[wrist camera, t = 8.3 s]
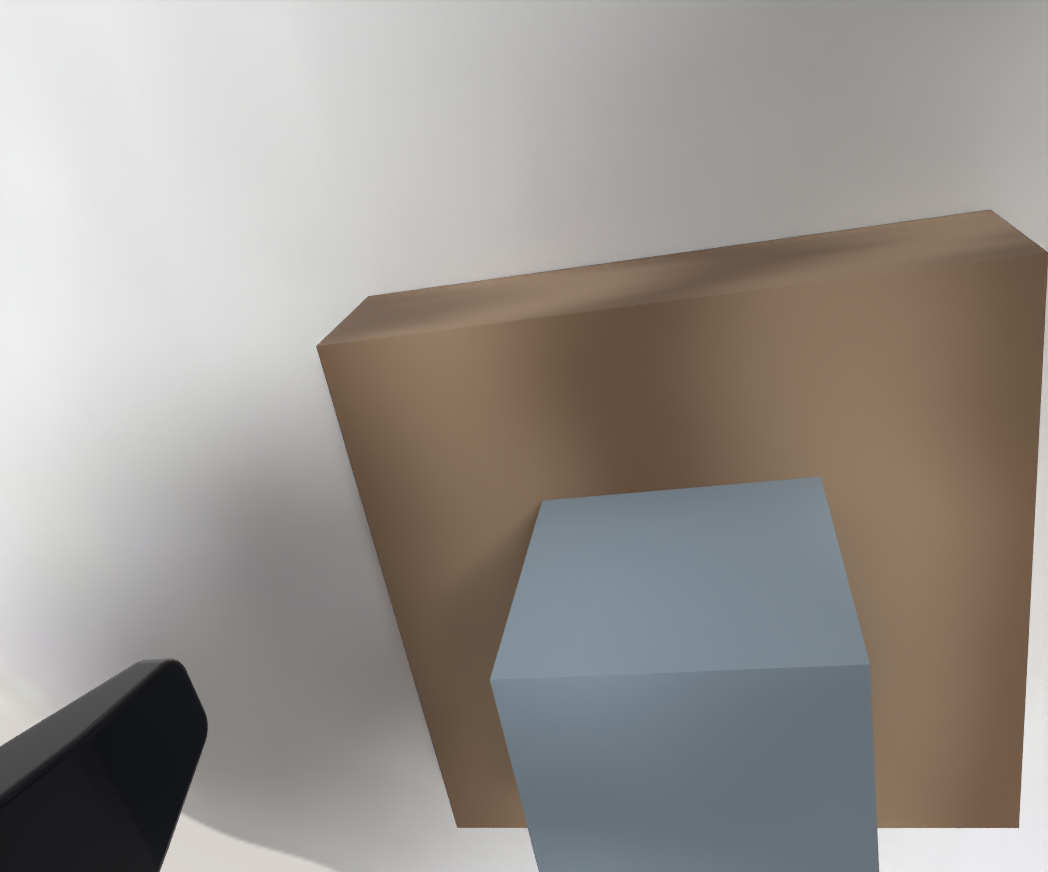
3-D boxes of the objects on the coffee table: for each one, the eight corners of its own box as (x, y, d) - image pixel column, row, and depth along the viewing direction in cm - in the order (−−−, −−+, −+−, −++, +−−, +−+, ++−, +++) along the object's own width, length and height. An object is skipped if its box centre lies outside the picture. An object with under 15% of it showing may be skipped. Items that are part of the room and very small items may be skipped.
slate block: (820, 476, 16) (869, 663, 12) (834, 699, 18) (881, 932, 14) (542, 501, 17) (490, 679, 13) (584, 707, 19) (552, 924, 15)
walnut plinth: (990, 209, 16) (1048, 252, 14) (978, 723, 21) (1018, 827, 19) (368, 296, 19) (316, 346, 16) (483, 734, 24) (457, 827, 21)
